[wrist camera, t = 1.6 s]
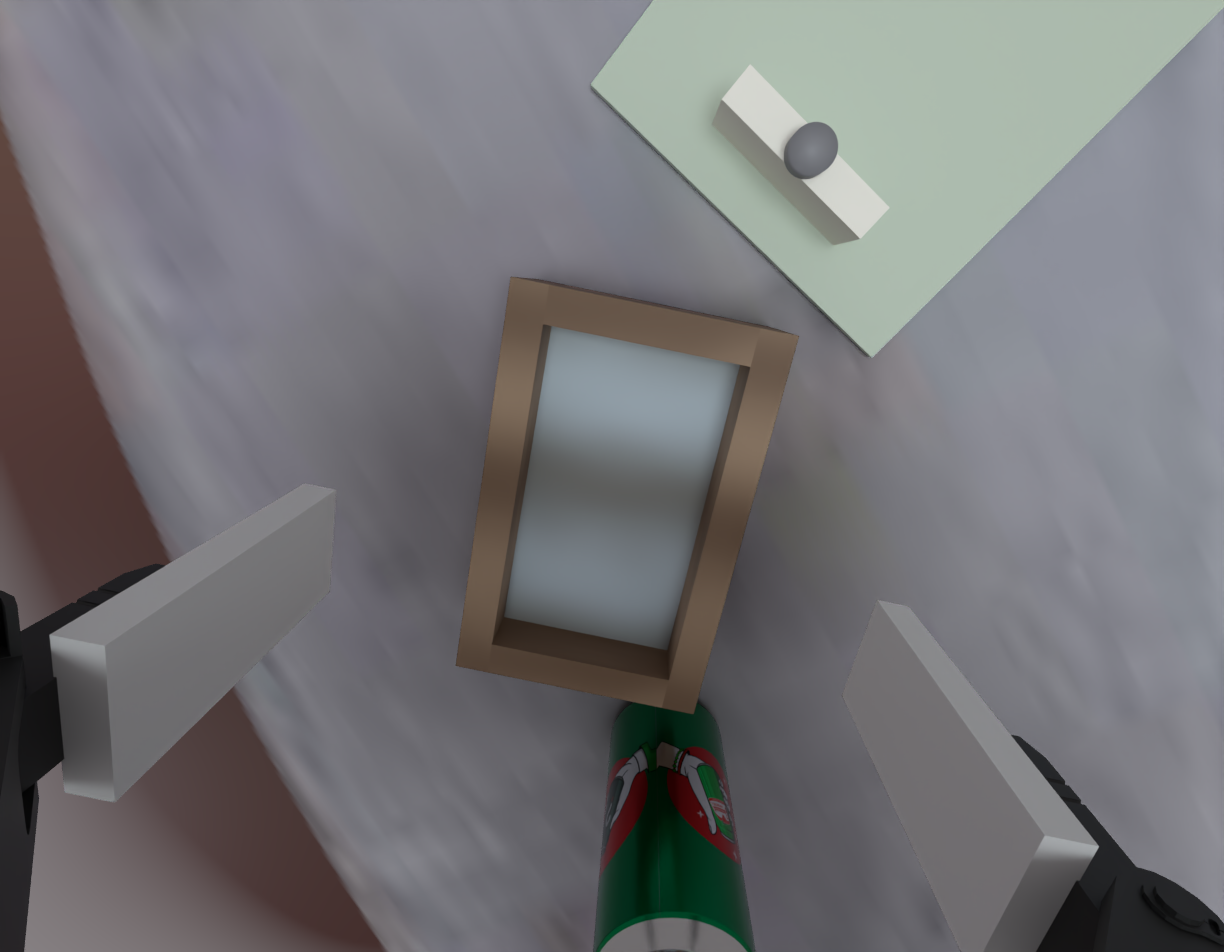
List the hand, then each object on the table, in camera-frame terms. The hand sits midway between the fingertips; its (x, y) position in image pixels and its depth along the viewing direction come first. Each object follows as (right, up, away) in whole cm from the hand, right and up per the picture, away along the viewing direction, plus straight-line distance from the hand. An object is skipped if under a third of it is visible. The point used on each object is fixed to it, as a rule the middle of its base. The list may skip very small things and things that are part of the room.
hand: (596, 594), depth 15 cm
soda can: (+3, -9, +15) cm, 17 cm away
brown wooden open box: (+1, +3, +11) cm, 11 cm away
